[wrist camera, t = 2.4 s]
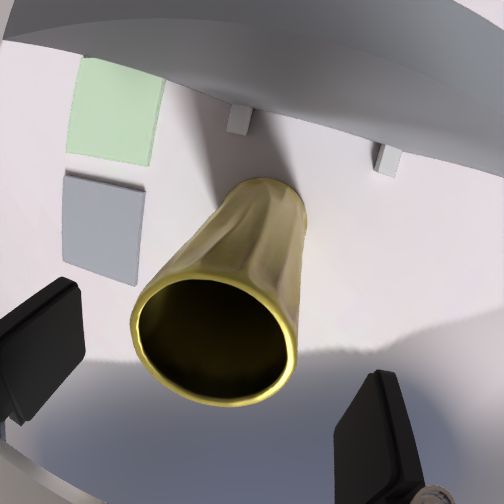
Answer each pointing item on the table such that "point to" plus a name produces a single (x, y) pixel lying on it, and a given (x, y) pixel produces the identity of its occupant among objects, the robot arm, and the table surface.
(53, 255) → the table surface
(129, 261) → the pad slate
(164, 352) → the vase
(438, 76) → the screen
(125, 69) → the pad sage
